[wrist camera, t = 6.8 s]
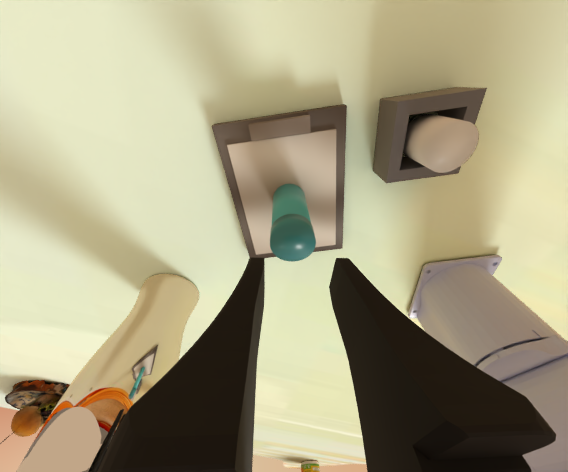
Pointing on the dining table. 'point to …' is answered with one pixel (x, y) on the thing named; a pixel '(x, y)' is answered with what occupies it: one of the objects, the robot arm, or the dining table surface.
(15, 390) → the dark base with ball
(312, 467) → the supplement bottle
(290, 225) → the marker
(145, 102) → the dining table surface
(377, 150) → the button box
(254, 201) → the grey flat tray
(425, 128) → the button cap
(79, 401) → the beer glass
